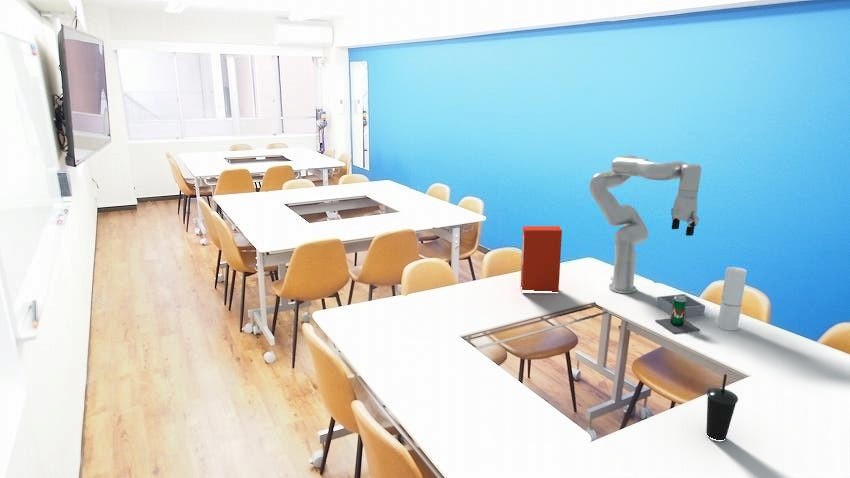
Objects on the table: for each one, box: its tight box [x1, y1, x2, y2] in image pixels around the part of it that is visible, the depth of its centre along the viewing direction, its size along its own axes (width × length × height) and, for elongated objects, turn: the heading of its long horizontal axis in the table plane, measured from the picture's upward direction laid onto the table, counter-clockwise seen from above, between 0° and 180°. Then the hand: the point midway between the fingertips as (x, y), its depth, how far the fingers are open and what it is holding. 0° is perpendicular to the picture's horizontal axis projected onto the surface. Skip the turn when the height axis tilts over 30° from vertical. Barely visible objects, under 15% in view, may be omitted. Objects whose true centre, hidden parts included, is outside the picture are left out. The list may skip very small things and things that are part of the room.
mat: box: [654, 317, 701, 335], centre depth 219 cm, size 12×12×1 cm
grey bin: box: [656, 293, 706, 319], centre depth 233 cm, size 14×14×4 cm
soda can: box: [670, 294, 687, 326], centre depth 218 cm, size 5×5×12 cm
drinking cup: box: [705, 374, 739, 440], centre depth 148 cm, size 8×8×20 cm
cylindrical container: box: [717, 266, 748, 332], centre depth 214 cm, size 7×7×25 cm
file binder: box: [520, 225, 563, 293], centre depth 254 cm, size 8×17×32 cm, turn 86°
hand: (682, 232), depth 229 cm, fingers open, 9 cm apart
